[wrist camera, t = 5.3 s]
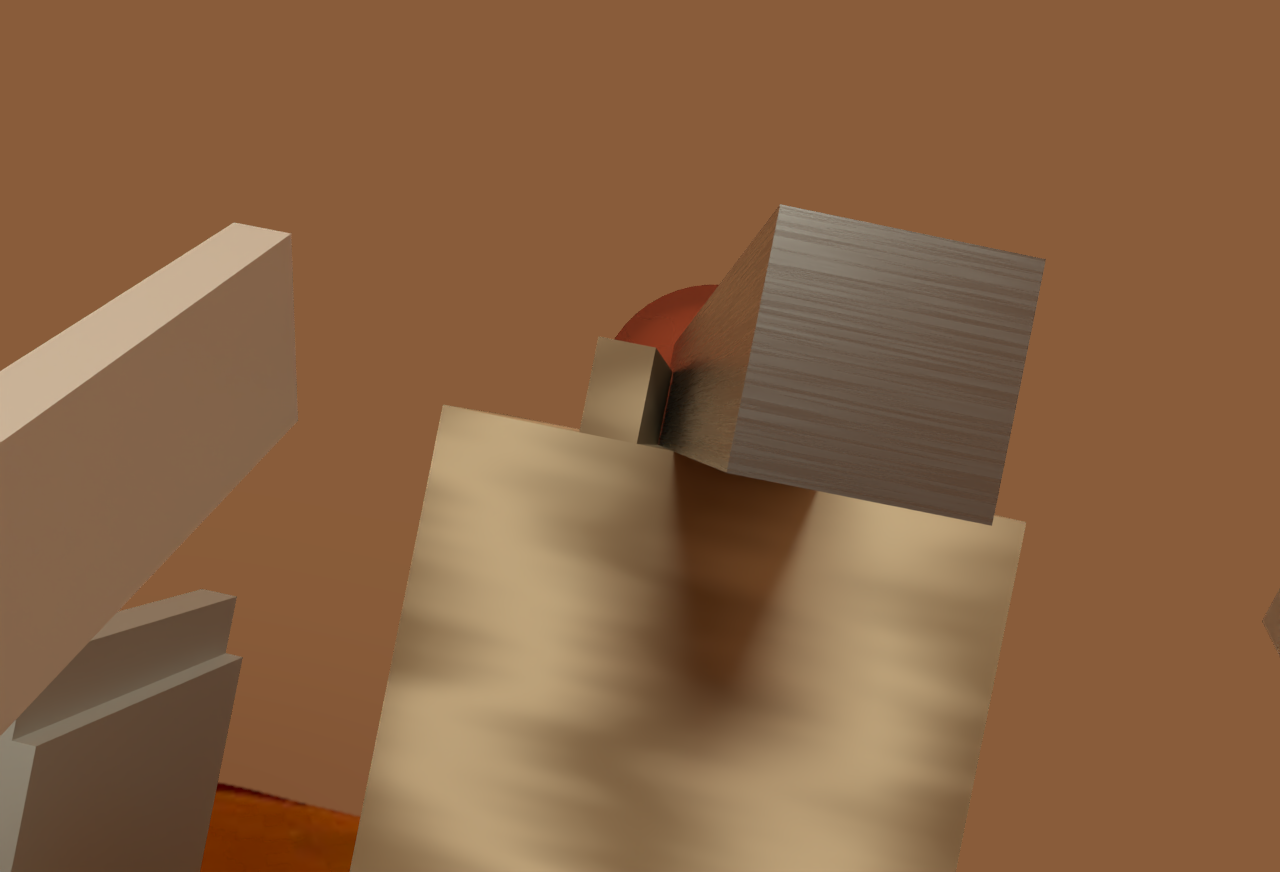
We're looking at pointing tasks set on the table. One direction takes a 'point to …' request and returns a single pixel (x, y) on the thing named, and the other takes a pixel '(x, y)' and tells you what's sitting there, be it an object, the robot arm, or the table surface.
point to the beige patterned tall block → (675, 659)
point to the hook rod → (851, 363)
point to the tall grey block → (124, 746)
